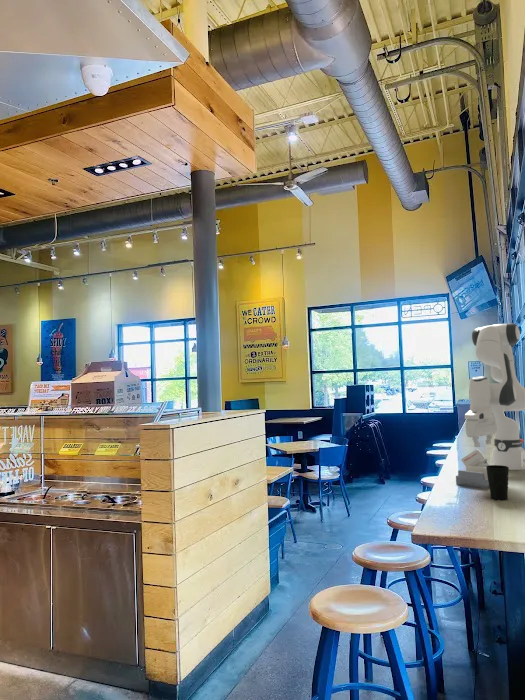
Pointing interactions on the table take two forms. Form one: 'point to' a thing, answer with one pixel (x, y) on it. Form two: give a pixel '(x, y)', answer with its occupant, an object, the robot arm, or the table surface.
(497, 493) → the cup
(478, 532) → the table surface
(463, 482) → the gray stepped block
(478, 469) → the pusher
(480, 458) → the ink box
